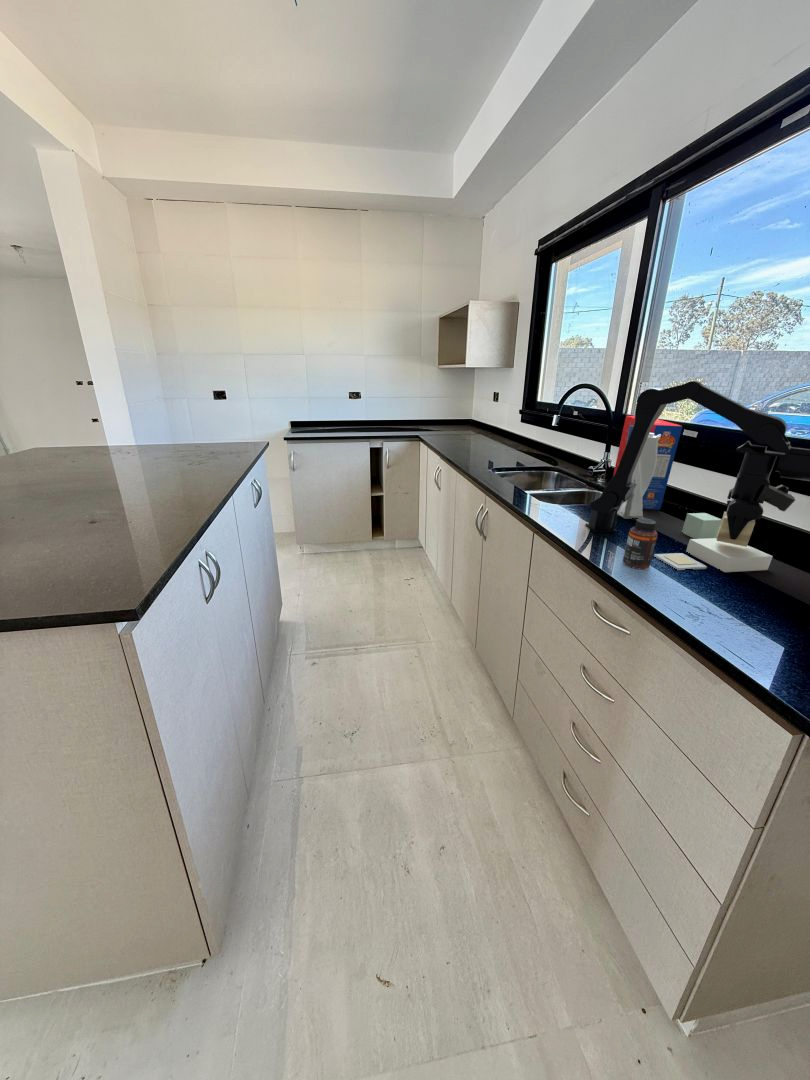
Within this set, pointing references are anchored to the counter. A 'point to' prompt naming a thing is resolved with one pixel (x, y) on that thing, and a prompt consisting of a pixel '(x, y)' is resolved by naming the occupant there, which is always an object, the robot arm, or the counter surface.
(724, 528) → the maple cube
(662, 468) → the red and blue box
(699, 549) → the cream block
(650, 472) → the skyscraper
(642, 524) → the supplement bottle
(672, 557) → the tile
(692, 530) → the sage cube
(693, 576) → the counter surface
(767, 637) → the counter surface
